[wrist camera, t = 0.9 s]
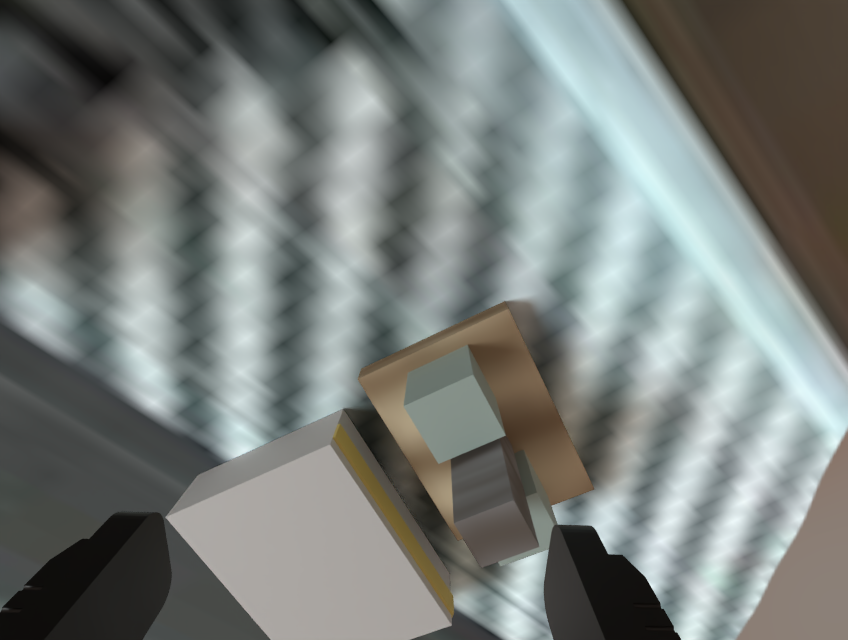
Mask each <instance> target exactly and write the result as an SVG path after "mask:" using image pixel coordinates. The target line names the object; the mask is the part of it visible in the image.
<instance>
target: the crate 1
mask: <svg viewBox="0 0 848 640" xmlns="http://www.w3.org/2000/svg"><path fill="white" fill-rule="evenodd" d="M404 408H405V410H406V411H407V413H408V415H409V416H410V418H411V419H412V421H413V423H414V424H415V426H416V428H417V429H418V431H419V433H420V434H421V436H422V438H423V439H424V441H425V443H426V444H427V446H428V448H429V449H430V451H431V452H432V454H433V456H434V457H435V459H436V461H437V462H438V464H440V463H442V462H445V461H447V460H449V459H452V458H454V457H456V456H459V455H461V454H463V453H466V452H468V451H471V450H473V449H475V448H478V447H480V446H482V445H485V444H487V443H489V442H492V441H494V440H496V439H499V438H501V437H504V436H506V434H505V430H504V427H503V423H502V419H501V415H500V411H499V408H498V404H497V400H496V397H495V396H494V394H493V392H492V390H491V388H490V386H489V384H488V382H487V380H486V379H485V377H484V375H483V373H482V371H481V369H480V367H479V365H478V363H477V362H476V360H475V358H474V356H473V354H472V352H471V350H470V348H469V346H468V345H466V346H464V347H462V348H459V349H457V350H455V351H453V352H451V353H449V354H447V355H444V356H442V357H440V358H438V359H436V360H434V361H432V362H430V363H427V364H425V365H423V366H421V367H419V368H417V369H415V370H413V371H410V372H408V376H407V383H406V391H405V398H404Z"/></svg>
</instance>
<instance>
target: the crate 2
mask: <svg viewBox="0 0 848 640" xmlns="http://www.w3.org/2000/svg"><path fill="white" fill-rule="evenodd" d="M514 455H515V459H516V462H517V466H518V470H519V473H520V477H521V481H522V484H523V488H524V492H525V495H526V499H527V503H528V506H529V510H530V514H531V518H532V521H533V525H534V529H535V532H536V536H537V540H538V543H539V547H538V548H535V549H532V550H530V551H527V552H524V553H521V554H518V555H516V556H513V557H510V558H507V559H505V560H502V561H499V562H498V563H499V565H500V566H504V565H506V564H509V563H512V562H515V561H517V560H520V559H523V558H526V557H528V556H531V555H534V554H537V553H539V552H542V551H545V550H548V549H549V545H550V538H551V532H552V528H553V526H554V525H558V524H557V521H556V519H555V516H554V513H553V510H552V507H551V504H550V501H549V498H548V495H547V493H546V491H545V489H544V488H543V486H542V484H541V482H540V480H539V478H538V476H537V474H536V472H535V470H534V468H533V466H532V465H531V463H530V461H529V459H528V457H527V455H526V453H525V451H524V450H521V451H519V452H516V453H514Z"/></svg>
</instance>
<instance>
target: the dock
mask: <svg viewBox="0 0 848 640" xmlns="http://www.w3.org/2000/svg"><path fill="white" fill-rule="evenodd" d="M166 518H167V520H168V521H169V522H170V523H171V524H172V525H173V526H174V528H175V529H176V530H177V531H178V532H179V533H180V535H181V536H182V537H183V538H184V539H185V540H186V542H187V543H188V544H189V545H190V546H191V547H192V549H193V550H194V551H195V552H196V553H197V554H198V556H199V557H200V558H201V559H202V560H203V561H204V562H205V564H206V565H207V566H208V567H209V568H210V569H211V571H212V572H213V573H214V574H215V575H216V576H217V578H218V579H219V580H220V581H221V582H222V583H223V585H224V586H225V587H226V588H227V589H228V590H229V592H230V593H231V594H232V595H233V596H234V597H235V598H236V600H237V601H238V602H239V603H240V604H241V605H242V607H243V608H244V609H245V610H246V611H247V612H248V614H249V615H250V616H251V617H252V618H253V619H254V621H255V622H256V623H257V624H258V625H259V626H260V628H261V629H262V630H263V631H264V632H265V633H266V634H267V636H268V637H269V638H270V639H271V640H410V639H413V638H416V637H419V636H422V635H425V634H427V633H430V632H433V631H436V630H439V629H442V628H445V627H448V626H451V625H452V620H451V618H452V617H453V615H454V604H453V595H452V593H451V592H450V573H449V572H448V570H447V569H446V567H445V566H444V564H443V563H442V561H441V560H440V558H439V556H438V555H437V553H436V552H435V550H434V549H433V547H432V546H431V544H430V542H429V541H428V539H427V538H426V536H425V535H424V533H423V532H422V530H421V528H420V527H419V525H418V524H417V522H416V521H415V519H414V518H413V516H412V514H411V513H410V511H409V510H408V508H407V507H406V505H405V504H404V502H403V501H402V499H401V497H400V496H399V494H398V493H397V491H396V490H395V488H394V487H393V485H392V483H391V482H390V480H389V479H388V477H387V476H386V474H385V473H384V471H383V469H382V468H381V466H380V465H379V463H378V462H377V460H376V459H375V457H374V455H373V454H372V452H371V451H370V449H369V448H368V446H367V445H366V443H365V442H364V440H363V438H362V437H361V435H360V434H359V432H358V431H357V429H356V428H355V426H354V424H353V423H352V421H351V420H350V418H349V417H348V415H347V414H346V412H345V410H344V409H342V410H340V411H337V412H335V413H333V414H331V415H329V416H327V417H324V418H322V419H320V420H318V421H316V422H313V423H311V424H309V425H307V426H305V427H302V428H300V429H298V430H296V431H294V432H291V433H289V434H287V435H285V436H283V437H280V438H278V439H276V440H274V441H272V442H269V443H267V444H265V445H263V446H261V447H259V448H256V449H254V450H252V451H250V452H248V453H245V454H243V455H241V456H239V457H237V458H234V459H232V460H230V461H228V462H226V463H223V464H221V465H219V466H217V467H215V468H212V469H210V470H208V471H206V472H204V473H201V474H199V475H198V476H197V477H196V478H195V480H194V481H193V482H192V484H191V485H190V486H189V487H188V489H187V490H186V491H185V493H184V494H183V495H182V497H181V498H180V499H179V500H178V502H177V503H176V504H175V506H174V507H173V508H172V509H171V511H170V512H169V513H168V515H167V516H166Z"/></svg>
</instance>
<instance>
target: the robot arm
mask: <svg viewBox="0 0 848 640" xmlns="http://www.w3.org/2000/svg"><path fill="white" fill-rule="evenodd" d="M171 578H172V572H171V564H170V558H169V551H168V545H167V539H166V532H165V526H164V520H163V517H162V515H161V514H160V513H157V512H125V511H121V512H117V513H115V514H113V515H112V516H111V517H110V518H109V519H108V520H107V521H106V522H105V523H104V524H103V525H102V526H101V527H100V528H99V529H98V530H97V531H96V532H95V533H94V534H93V536H92V537H91V538H90V539H81V540H80V541H78V542H77V543H75V544H74V545H72V546H70V547H69V548H67V549H66V550H64V551H63V552H61V553H60V554H58V555H57V556H55V557H54V558H52V559H51V560H49V561H48V562H47V563H46V564H45V565H44V566H43V567H42V568H41V569H40V570H39V571H38V572H37V573H36V574H35V575H34V576H33V577H32V578H31V579H30V580H29V581H28V582H27V583H26V584H25V585H24V589H23V590H22V591H18V592H17V593H16V594H15V595H14V596H13V597H12V598H11V599H10V600H9V601H8V602H7V603H6V604H5V605H4V606H3V607H2V610H1V612H0V640H142V639H143V638H144V636H145V635H146V633H147V631H148V630H149V628H150V626H151V625H152V623H153V622H154V620H155V618H156V617H157V615H158V614H159V612H160V610H161V609H162V607H163V605H164V603H165V601H166V598H167V596H168V593H169V589H170V585H171ZM544 601H545V609H546V614H547V618H548V622H549V626H550V629H551V632H552V636H553V639H554V640H681V638H680V637H679V635H678V633H675V631H674V626H673V625H672V623H671V621H670V619H669V618H668V616H667V614H666V612H665V611H664V609H661V606H660V602H659V600H658V598H657V597H656V595H655V593H654V591H653V590H652V588H651V586H650V585H649V583H648V581H647V579H646V578H645V576H644V575H643V574H641V573H640V572H639V571H638V570H637V569H636V568H635V567H634V566H633V565H632V564H631V563H630V562H629V561H628V560H627V559H626V558H625V557H624V556H623V555H609V554H608V553H607V551H606V549H605V547H604V545H603V543H602V541H601V540H600V538H599V536H598V534H597V532H596V530H595V529H594V528H593V527H592V526H582V525H554V526H553V528H552V532H551V538H550V545H549V552H548V559H547V566H546V574H545V581H544Z"/></svg>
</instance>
